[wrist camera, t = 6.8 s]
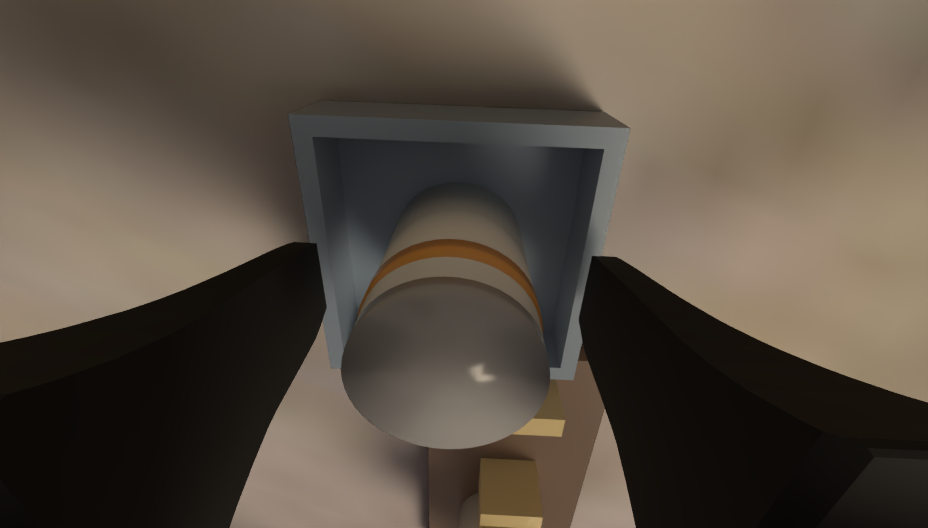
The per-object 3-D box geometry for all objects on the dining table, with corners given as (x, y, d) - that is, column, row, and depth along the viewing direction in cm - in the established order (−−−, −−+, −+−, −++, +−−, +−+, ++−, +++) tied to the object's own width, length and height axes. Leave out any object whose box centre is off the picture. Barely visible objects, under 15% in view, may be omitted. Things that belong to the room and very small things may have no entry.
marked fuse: (399, 294, 14) (353, 448, 9) (388, 179, 12) (320, 290, 7) (518, 296, 14) (542, 452, 9) (527, 180, 12) (565, 294, 7)
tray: (350, 325, 16) (330, 368, 14) (321, 100, 12) (287, 113, 10) (561, 335, 15) (573, 380, 13) (604, 111, 11) (630, 128, 9)
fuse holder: (431, 531, 22) (424, 602, 20) (429, 339, 16) (418, 404, 13) (559, 538, 22) (570, 610, 19) (611, 347, 16) (640, 416, 13)
